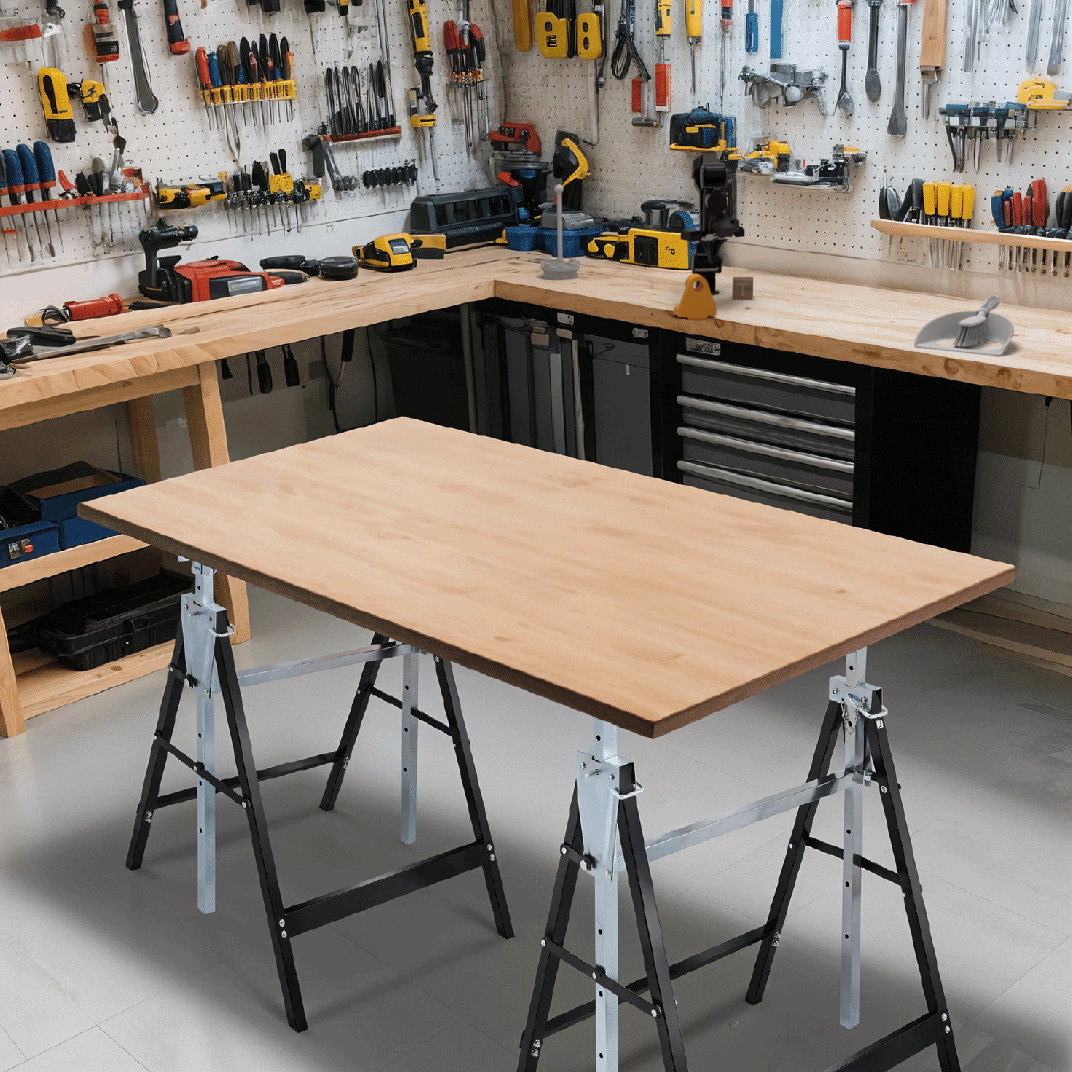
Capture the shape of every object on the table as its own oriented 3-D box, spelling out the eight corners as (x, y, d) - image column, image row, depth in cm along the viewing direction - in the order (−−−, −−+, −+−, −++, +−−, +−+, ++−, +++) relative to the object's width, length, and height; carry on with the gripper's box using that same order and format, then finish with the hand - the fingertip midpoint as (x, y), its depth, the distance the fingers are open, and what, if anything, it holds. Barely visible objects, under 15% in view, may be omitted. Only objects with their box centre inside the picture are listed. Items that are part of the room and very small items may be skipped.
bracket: (709, 313, 391) (710, 271, 386) (716, 318, 384) (717, 275, 380) (673, 315, 389) (673, 273, 385) (679, 320, 383) (679, 277, 378)
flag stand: (586, 278, 449) (585, 184, 438) (550, 281, 444) (548, 187, 433) (570, 272, 460) (569, 181, 449) (534, 275, 455) (532, 183, 445)
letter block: (732, 296, 414) (732, 276, 412) (752, 296, 413) (753, 276, 411) (732, 300, 408) (732, 280, 406) (752, 300, 407) (753, 280, 405)
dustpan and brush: (910, 348, 345) (913, 311, 342) (951, 324, 371) (954, 289, 367) (1002, 358, 333) (1006, 319, 330) (1038, 332, 359) (1042, 296, 355)
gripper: (700, 214, 383) (699, 270, 388) (756, 209, 390) (754, 264, 396) (679, 210, 392) (679, 264, 398) (734, 205, 400) (733, 258, 405)
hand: (712, 263), depth 399 cm, fingers closed
